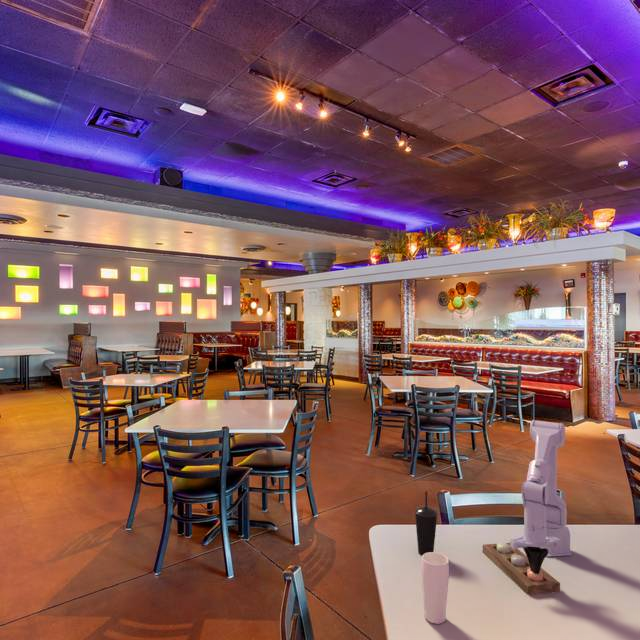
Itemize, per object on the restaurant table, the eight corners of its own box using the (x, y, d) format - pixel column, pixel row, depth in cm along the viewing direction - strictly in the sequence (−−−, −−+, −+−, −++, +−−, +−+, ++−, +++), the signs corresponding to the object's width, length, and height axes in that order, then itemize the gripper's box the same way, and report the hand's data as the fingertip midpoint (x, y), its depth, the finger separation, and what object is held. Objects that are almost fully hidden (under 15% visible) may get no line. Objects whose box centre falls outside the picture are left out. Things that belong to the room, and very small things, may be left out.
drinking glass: (417, 610, 116) (418, 552, 116) (442, 609, 116) (443, 551, 117) (425, 627, 109) (426, 565, 109) (452, 626, 110) (453, 564, 110)
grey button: (520, 562, 138) (520, 554, 139) (528, 569, 135) (528, 560, 135) (508, 563, 138) (508, 555, 138) (516, 570, 134) (516, 561, 134)
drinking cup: (422, 545, 151) (422, 485, 152) (442, 553, 146) (442, 491, 147) (409, 552, 146) (409, 491, 147) (429, 561, 141) (430, 497, 141)
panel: (510, 550, 149) (510, 542, 149) (560, 592, 125) (560, 582, 125) (482, 552, 147) (482, 544, 147) (527, 594, 123) (527, 585, 124)
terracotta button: (536, 576, 131) (536, 567, 131) (545, 584, 127) (545, 575, 127) (524, 577, 130) (524, 568, 130) (532, 585, 126) (533, 576, 126)
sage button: (505, 550, 146) (505, 542, 146) (512, 556, 142) (512, 548, 142) (494, 550, 146) (494, 542, 146) (501, 557, 142) (501, 548, 142)
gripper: (520, 531, 124) (520, 581, 123) (567, 528, 126) (567, 577, 126) (506, 521, 131) (505, 568, 130) (550, 518, 133) (550, 564, 132)
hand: (534, 571), depth 128 cm, fingers closed
